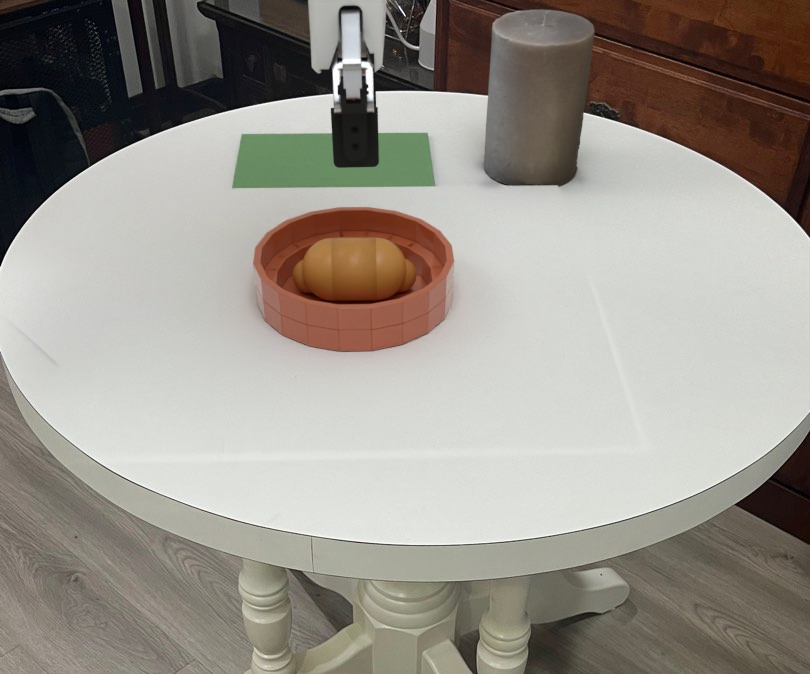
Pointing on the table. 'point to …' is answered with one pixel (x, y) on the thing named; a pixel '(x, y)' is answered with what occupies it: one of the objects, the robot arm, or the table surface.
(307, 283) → the croissant
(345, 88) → the robot arm
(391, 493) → the table surface
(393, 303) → the terracotta round dish
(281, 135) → the cloth
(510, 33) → the pillar candle
